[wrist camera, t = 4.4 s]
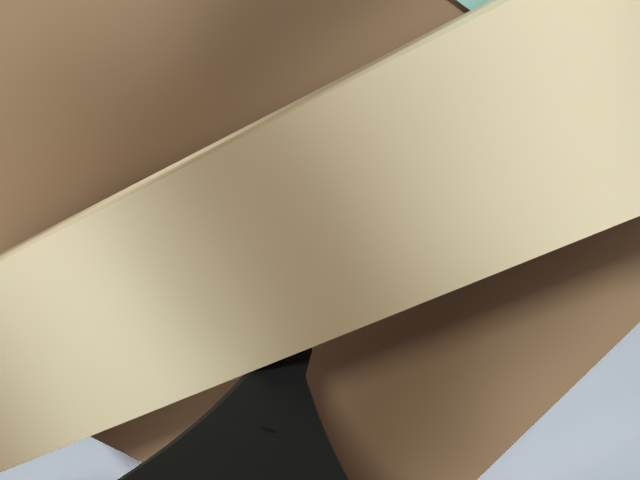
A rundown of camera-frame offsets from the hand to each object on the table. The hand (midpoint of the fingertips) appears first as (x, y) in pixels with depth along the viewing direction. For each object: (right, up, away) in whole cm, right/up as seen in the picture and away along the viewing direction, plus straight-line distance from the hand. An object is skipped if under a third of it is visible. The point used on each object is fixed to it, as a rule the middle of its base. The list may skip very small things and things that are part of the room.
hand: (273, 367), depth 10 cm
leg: (+1, +4, -1) cm, 4 cm away
